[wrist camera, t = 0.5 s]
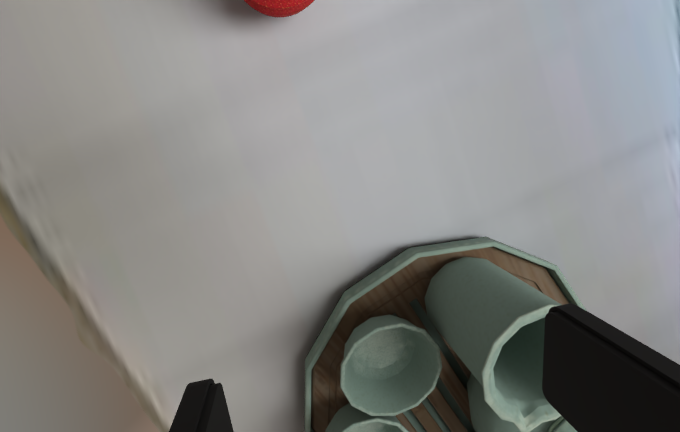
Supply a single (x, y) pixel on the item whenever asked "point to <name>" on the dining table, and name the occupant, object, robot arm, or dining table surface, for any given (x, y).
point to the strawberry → (279, 6)
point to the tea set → (439, 345)
